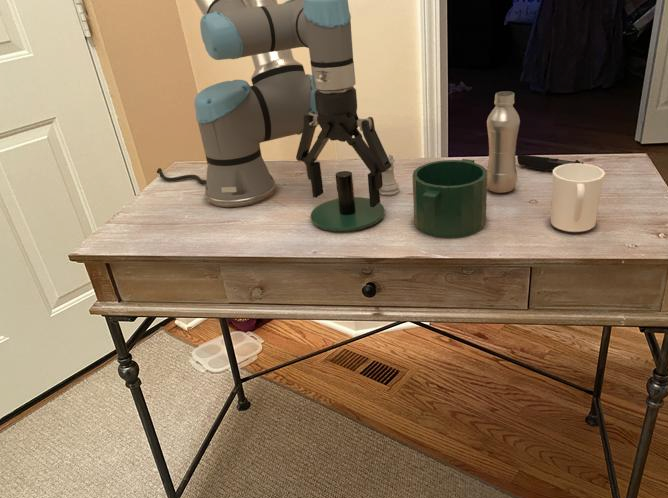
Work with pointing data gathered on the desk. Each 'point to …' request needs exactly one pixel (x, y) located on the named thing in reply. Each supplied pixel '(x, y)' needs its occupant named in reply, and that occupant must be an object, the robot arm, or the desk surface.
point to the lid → (346, 208)
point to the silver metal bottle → (502, 144)
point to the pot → (450, 198)
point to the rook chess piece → (389, 181)
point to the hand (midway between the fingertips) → (346, 199)
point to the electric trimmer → (542, 162)
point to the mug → (575, 197)
